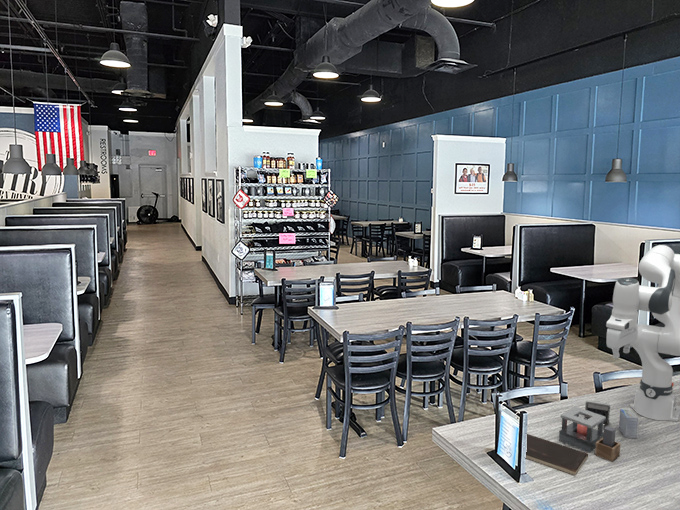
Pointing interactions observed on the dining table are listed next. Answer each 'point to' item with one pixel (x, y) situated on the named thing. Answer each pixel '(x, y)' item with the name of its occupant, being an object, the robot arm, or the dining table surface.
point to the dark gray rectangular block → (609, 436)
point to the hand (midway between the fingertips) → (621, 355)
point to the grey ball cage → (570, 432)
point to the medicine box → (628, 423)
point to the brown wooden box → (607, 450)
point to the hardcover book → (554, 454)
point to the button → (581, 429)
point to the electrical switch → (598, 409)
